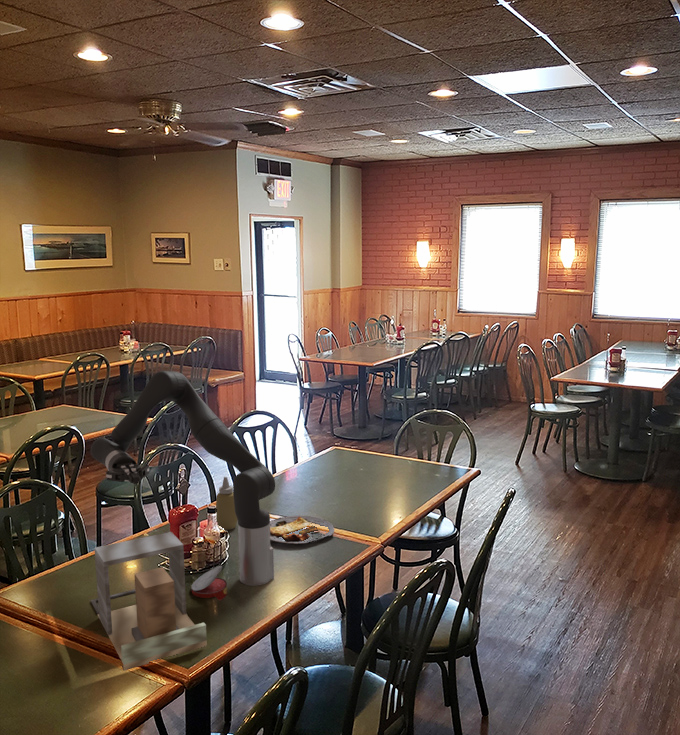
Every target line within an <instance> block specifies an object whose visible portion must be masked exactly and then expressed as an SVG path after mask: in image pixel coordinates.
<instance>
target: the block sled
mask: <svg viewBox="0 0 680 735" xmlns="http://www.w3.org/2000/svg"><path fill="white" fill-rule="evenodd" d="M134 589H135V593H134V594H135V605H136V610H137V627H135V628H131V630H132V635H133V637H134V639H135V640H136V641H139V640H143V639H147V638H150V637H154V636H157V635H161V634H164V633H168V632H171V631H175V630H179V628H178V627H177V625H176V616H175V595H174V581H173V579H172V578H171V577H170V573H168V572H167V571H166V569H165V568H164V567H163V566H162V567H157V568H153V569H148V570H144V571H141V572H136V573H134Z"/></svg>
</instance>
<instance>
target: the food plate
mask: <svg viewBox="0 0 680 735" xmlns="http://www.w3.org/2000/svg"><path fill="white" fill-rule="evenodd" d="M310 522H312V523H315V524H319V525H320V526H325V527H328V529H329V532H328V533H326V535H325V536H323V534H322V533H321V534H322V535H321V534H320V535H321V536H322V537H321V538H319V539H314V540H311V539H310V540H311V541H309V542H312V541H316V542H318V541H320V540H322V539H324V538H326V537H331V536H333V535H334V533H335V528H334V525H333V523H331V522H330V521H328V520H326V519H324V518H322V517H319V516H313V515H300V514H299V515H298V514H297V515H296V514H295V515H291V516H290V515H288V516H281V517H278V518H275V519H272V520H270V542H274V543H282V544H285V545H298V544H300V545H305V544H310V543H309V542H308V541H307V542H305V541H304V540H306V539H308V538H309V537H310V536H309V535H308V534H307V533H310V532H314V531H318V529H317V527H315V526H311V527H309V528H306V529H304V530H302V531H300V532H299V534H301V535H299V534H295V533H293V532H295V531H298V530H300V529H303V528H305V527H307V525H308V526H309V525H310V524H312V523H310ZM315 528H316V529H315ZM291 532H292V534H289V533H291ZM325 532H326V531H325ZM287 534H289V535H287ZM279 537H282V538H283V539H284V540H285V541H282V540H280V539H281V538H279ZM317 540H318V541H317ZM302 541H304V542H302ZM312 543H313V542H312Z"/></svg>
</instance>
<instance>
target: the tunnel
mask: <svg viewBox="0 0 680 735" xmlns="http://www.w3.org/2000/svg"><path fill="white" fill-rule="evenodd" d="M184 553H185V552H184V543H182V541H180V539H179V538H178V537H177V536H176V535H175V534H174V533H173V531H168V532H163V533H158V534H154V535H149V536H144V537H139V538H134V539H131V540H125V541H120V542H115V543H111V544H106V545H101V546H96V547H94V559H95V576H96V578H95V579H96V589H97V598H95V599H90V603H91V605H92V607H93V609H94V612H96V615H97V617H98V618H99V620H100V622H101V625H102V626H103V628H104V630H105V632H106V634H107V635H108V637H109V640H110V642H111V643H112V646H114V650H115V651H116V653H117V654H118V655H117V656H118V657H119V659H120V660H121V663H122V665H121V668H122V670H123V671H124V672H125V671H128V670H131V669H135V668H137V667H140V666H144V665H147V664H150V663H149V662H150V661H153V660H157V659H160V658H165V657H168V656H172V657H174V656H173V655H175V656H177V655H176V654H178V655H182V654H184V652H185V653H188V651H189V652H191V650H192V651H194V650H195V651H196V650H198V648H199V649H202V648H204V646H205V647H207V646H208V642H207V641H208V639H207V624H206V623H205V622H201V623H200V622H199V623H197V624H195V623H194V622H193V621H192V619H191V618H190V617H189V616H188V614H187V597H186V596H187V594H186V578H185V577H186V576H185V574H186V572H185V554H184ZM161 554H168V567H169V568H168V570H169V576H170V577H171V578H172V579H173V581H174V595H175V616H176V625H177V627H178V628H179V630H175V631H171V632H168V633H164V634H161V635H157V636H154V637H150V638H147V639H143V640H139V641H136V640H135V639H134V637H133V635H132V630H131V628H135V627H137V610H136V604H133V605H130V606H125V607H121V608H117V609H114V610H112V604H111V600H112V599H115V598H119V597H124V596H127V595H132V594H136V593H135V588H134V589H131V590H128V591H122V592H118V593H114V594H111V592H110V590H111V589H110V576H109V566H113V565H117V564H122V563H127V562H130V561H135V560H140V559H144V558H149V557H155V556H157V555H161ZM201 647H202V648H201ZM181 653H182V654H181ZM168 658H169V657H168ZM165 659H166V658H165Z"/></svg>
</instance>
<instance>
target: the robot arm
mask: <svg viewBox="0 0 680 735" xmlns="http://www.w3.org/2000/svg"><path fill="white" fill-rule="evenodd" d="M162 402H172V403H174V404H176V405H177V406H178V407H179V408H180V410H182V412H183V413H184V414H185V416H186V418H187V421H188V425H189V430H190V431H191V434H192V436H193V438H194V439H195V440H196V441H197V442H198V443H199V445H200V446H201V447H202V449H203V450H205V451H206V452H207V453H208V454H210V455H211V456H212V457H215V458H218V459H219V460H222V461H224V462H225V463H227V464H230V465H231V466H232V467H234V468H235V469H236V470H237V471H238V472H239V473H238V474H237V475H235V477H234V479H233V485H232V487H233V496H234V508H235V514H236V516H237V519H238V520H237V532H238V534H237V535H238V536H237V537H238V560H239V562H238V563H239V564H238V565H239V566H238V567H239V568H238V569H239V571H238V572H239V581H240V583H242V584H243V585H246V586H253V587H254V586H261V584H262V585H265V584H267V583H269V582H270V581H271V579H272V580H274V579H275V569H274V568H275V564H274V563H275V562H274V561H275V560H274V557H275V556H274V548H273V547H272V545H271V540H270V522H271V516H270V512H268V511H267V510H265V509H262V508H261V507H260V500H262V499H265V498H267V497H269V496H270V495H272V494H273V493H274V491H275V489H276V482H275V477H274V476H273V474H272V472H271V471H270V470H269V468H268V467H267V466H266V465H265V464H263V463H262V462H261V461H260V460H259V459H258V458H257V457H256V456H255V455H253V454H252V453H251V452H250V451H249V449H247V448H246V447H245V446H244V444H243V443H241V441H240V440H238V439H239V438H237V437H236V436H235V435H234V434H233V433H232V432H231V430H230V429H229V428H228V427H227V426H226V425H225V423H224V422H223V421H222V419H220V418H219V417H218V416H217V415H216V414H215V413H214V411H213V410H212V409H211V408H210V407H209V405H208V404H207V403H206V401H204V400H203V399H202V398H201V397H200V395H199V394H198V392H197V391H196V389H195V387H193V385H192V384H191V382H190V381H189V379H188V378H187V377H186V376H185V375H184V374H183V373H181V372H179V371H173V370H172V371H171V370H160V371H157V372H155V373H154V374H153V375H151V377H150V379H149V380H148V382H147V383H146V385H145V387H143V390H142V391H141V393H140V394H139V396H138V398H137V399H136V401H135V403H134V404H133V405H132V407H131V408H130V410H129V411H128V412H127V413H126V414H125V415H124V417H123V418H122V419H121V420H120V421H119V422H118V423H117V424H116V425H115V427H114V428H113V429H112V431H111V438H112V439H113V441H112V440H110V439H107V438H105V437H100V438H97V439H96V440H94V441H93V443H92V444H91V445H90V455H91V456H92V458H93V459H94V460H95V461H97V462H99V463H101V464H102V465H104V466H105V467H106V469H107V471H105V477H106V480H107V481H110V482H111V481H113V482H117V483H123V482H129V484H132V485H137V484H140V482H141V480H142V479H144V478H145V477H146V476H148V475H149V474H150V464H144V465H142V466H141V465H140V464H138V463H137V462H136V460H135V459H134V458H133V457H132V456H131V455H130V454H129V453H127V451H128V450H129V448H130V446H131V445H132V443H133V442H134V441H135V440H136V439H137V437H138V436H140V433H142V432H143V430H145V426H146V424H147V422H148V419H149V415H150V414H151V412H152V411H153V410H154V408H156V407H157V406H158V405H159V404H160V403H162Z"/></svg>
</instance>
